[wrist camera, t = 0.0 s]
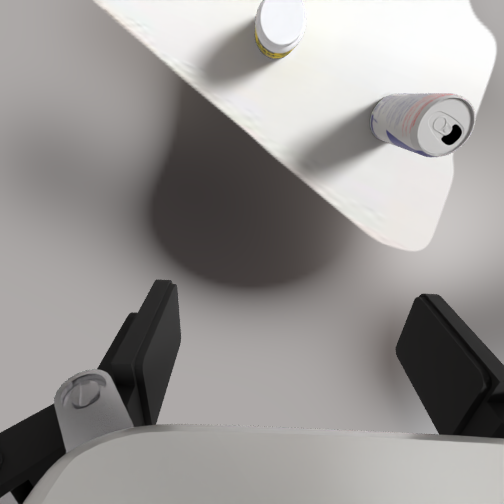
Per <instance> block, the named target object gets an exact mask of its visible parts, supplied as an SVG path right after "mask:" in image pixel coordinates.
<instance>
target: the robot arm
mask: <svg viewBox="0 0 504 504" xmlns="http://www.w3.org/2000/svg"><path fill="white" fill-rule="evenodd" d="M180 342H181V332H180V319H179V305H178V293H177V285H176V284H172V281H171V280H156V281H155V282H154V284H153V286H152V288H151V289H150V292H149V293H148V295H147V297H146V299H145V301H144V303H143V304H142V306H141V308H140V310H139V312H138V313H130V314H129V315H128V317H127V318H126V320H125V322H124V323H123V325H122V327H121V329H120V330H119V332H118V334H117V336H116V337H115V339H114V341H113V343H112V344H111V346H110V348H109V350H108V351H107V353H106V355H105V356H104V358H103V360H102V362H101V363H100V365H99V367H98V368H97V369H92V370H86V371H83V372H80V373H77V374H76V375H74V376H72V377H70V378H69V379H68V380H67V381H65V382H64V383H63V384H62V385H61V387H60V388H59V389H58V391H57V392H56V395H55V398H54V404H52V405H51V406H49V407H47V408H45V409H43V410H41V411H39V412H38V413H36V414H34V415H32V416H30V417H28V418H27V419H25V420H23V421H21V422H19V423H17V424H16V425H14V426H12V427H10V428H8V429H6V430H5V431H3V432H1V433H0V504H504V365H503V364H502V363H501V362H500V361H499V360H498V359H497V357H496V356H495V355H494V354H493V353H492V352H491V351H490V350H489V349H488V348H487V346H486V345H485V344H484V343H483V342H482V341H481V340H480V339H479V338H478V337H477V336H476V334H475V333H474V332H473V331H472V330H471V329H470V328H469V327H468V326H467V325H466V324H465V322H464V321H463V320H462V319H461V318H460V317H459V316H458V315H457V314H456V313H455V311H454V310H453V309H452V308H451V307H450V306H449V305H448V304H447V303H446V302H445V301H444V299H443V298H442V297H441V296H439V295H437V294H421V295H420V296H419V297H417V298H416V299H415V300H414V303H413V305H412V308H411V310H410V313H409V315H408V318H407V320H406V323H405V325H404V328H403V331H402V333H401V335H400V338H399V340H398V343H397V346H396V355H397V357H398V359H399V361H400V362H401V364H402V366H403V368H404V370H405V372H406V374H407V376H408V377H409V379H410V381H411V383H412V385H413V387H414V389H415V390H416V392H417V394H418V396H419V397H420V400H421V401H422V403H423V405H424V407H425V409H426V410H427V412H428V415H429V416H430V418H431V420H432V422H433V424H434V426H435V427H436V429H437V431H438V433H439V435H437V434H418V433H397V432H376V431H356V430H332V429H311V428H310V429H309V428H286V427H259V426H236V425H197V424H195V425H194V424H167V425H156V422H157V419H158V416H159V412H160V409H161V406H162V402H163V399H164V395H165V393H166V389H167V386H168V382H169V379H170V376H171V373H172V369H173V366H174V363H175V359H176V356H177V353H178V350H179V346H180Z"/></svg>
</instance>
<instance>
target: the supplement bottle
mask: <svg viewBox="0 0 504 504" xmlns="http://www.w3.org/2000/svg"><path fill="white" fill-rule="evenodd" d="M305 27H306V11H305V6H304V3H303V1H302V0H263V1H262V2H261V4H260V6H259V8H258V10H257V14H256V19H255V40H256V43H257V46H258V48H259V50H260V51H261V52H262V53H263V54H264V55H265V56H267V57H269V58H272V59H280V58H283V57H285V56H286V55H288V54H289V53H290V52H291V51H292V50H293V49H294V48H295V47H296V46H297V45H298V43H299V42H300V40H301V39H302V37H303V34H304V31H305Z"/></svg>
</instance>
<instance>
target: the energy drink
mask: <svg viewBox="0 0 504 504" xmlns="http://www.w3.org/2000/svg"><path fill="white" fill-rule="evenodd" d="M474 125H475V111H474V108H473V106H472V105H471V103H470V102H469V101H467V100H466V99H464V98H463V97H462V96H459V95H457V94H451V93H445V94H392V95H389V96H387V97H385V98H383V99H382V100H381V101H380V102H379V103H378V104H377V105H376V106H375V108H374V109H373V112H372V114H371V117H370V128H371V131H372V133H373V134H374V136H375V137H376V138H378V139H379V140H382V141H385V142H387V143H390V144H393V145H396V146H398V147H401V148H404V149H407V150H409V151H412V152H415V153H418V154H420V155H423V156H426V157H438V156H445V155H448V154H451V153H453V152H454V151H456V150H458V149H459V148H460V147H461V146H462V145H463V144H464V143H465V142H466V141H467V140H468V138H469V137H470V135H471V133H472V131H473V129H474Z"/></svg>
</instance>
